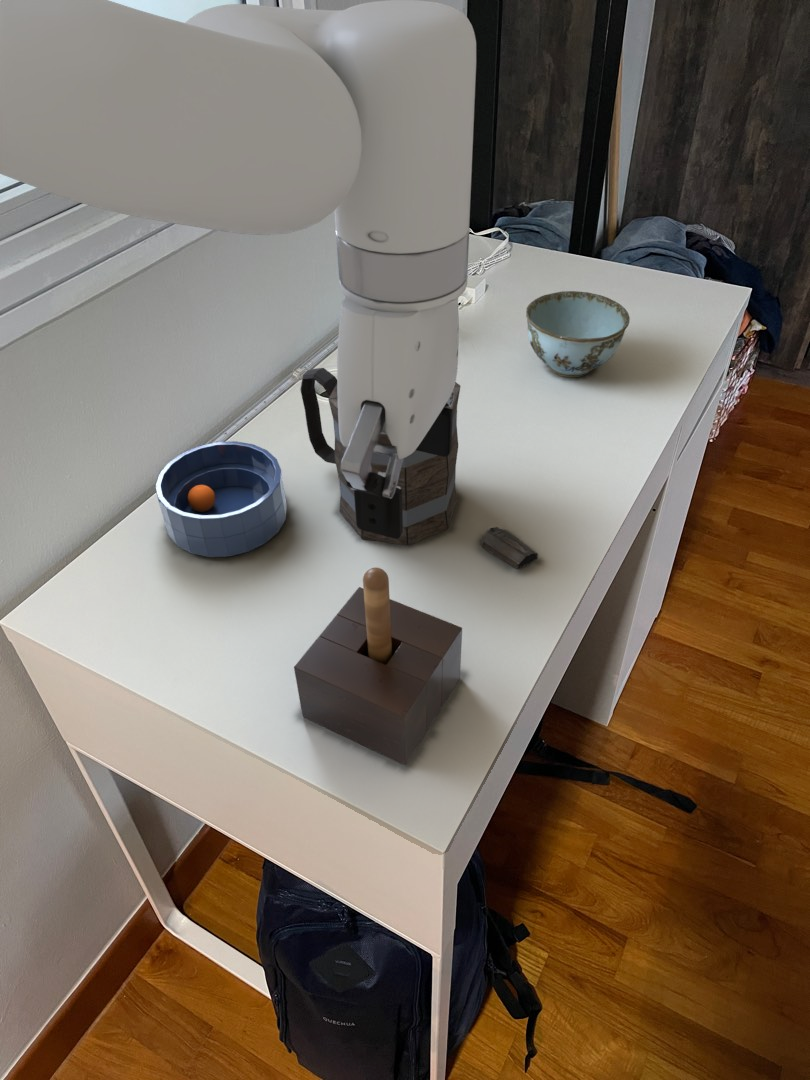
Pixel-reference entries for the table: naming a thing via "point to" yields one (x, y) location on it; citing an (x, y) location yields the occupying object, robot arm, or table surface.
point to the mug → (419, 478)
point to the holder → (380, 678)
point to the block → (508, 547)
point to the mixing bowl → (223, 498)
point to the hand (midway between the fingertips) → (406, 489)
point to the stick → (377, 615)
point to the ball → (201, 498)
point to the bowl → (575, 330)
